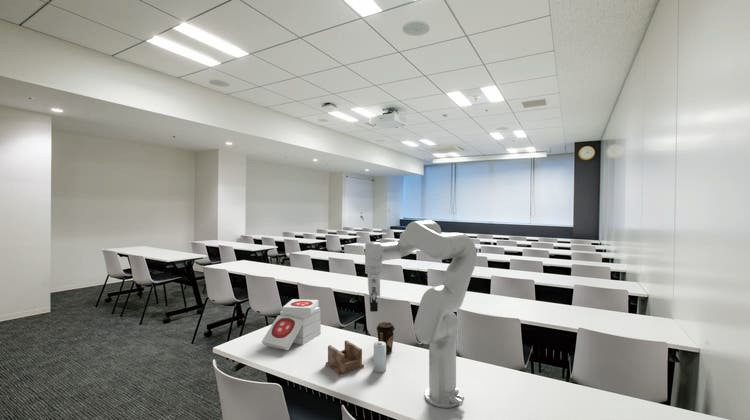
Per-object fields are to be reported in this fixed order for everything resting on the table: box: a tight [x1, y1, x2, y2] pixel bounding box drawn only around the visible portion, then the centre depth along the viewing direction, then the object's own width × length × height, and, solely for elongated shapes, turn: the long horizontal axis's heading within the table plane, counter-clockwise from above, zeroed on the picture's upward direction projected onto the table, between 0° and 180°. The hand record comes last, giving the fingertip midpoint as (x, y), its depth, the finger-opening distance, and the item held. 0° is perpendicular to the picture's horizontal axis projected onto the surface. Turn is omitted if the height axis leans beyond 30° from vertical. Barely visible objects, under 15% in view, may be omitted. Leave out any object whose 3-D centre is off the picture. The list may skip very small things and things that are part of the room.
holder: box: [325, 340, 365, 377], centre depth 142 cm, size 12×12×8 cm
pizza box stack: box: [261, 298, 322, 351], centre depth 169 cm, size 19×30×18 cm, turn 154°
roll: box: [373, 340, 387, 374], centre depth 138 cm, size 5×5×11 cm
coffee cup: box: [376, 321, 396, 355], centre depth 156 cm, size 9×8×13 cm
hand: (373, 307), depth 146 cm, fingers open, 9 cm apart
